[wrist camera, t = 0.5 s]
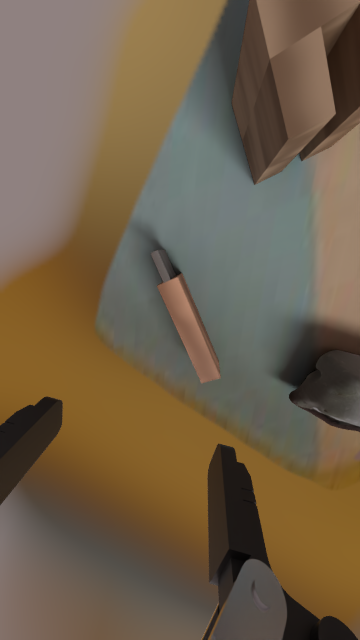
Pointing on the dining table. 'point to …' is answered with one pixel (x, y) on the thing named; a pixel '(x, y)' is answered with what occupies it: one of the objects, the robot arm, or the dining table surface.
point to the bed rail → (186, 319)
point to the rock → (333, 390)
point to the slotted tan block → (296, 80)
